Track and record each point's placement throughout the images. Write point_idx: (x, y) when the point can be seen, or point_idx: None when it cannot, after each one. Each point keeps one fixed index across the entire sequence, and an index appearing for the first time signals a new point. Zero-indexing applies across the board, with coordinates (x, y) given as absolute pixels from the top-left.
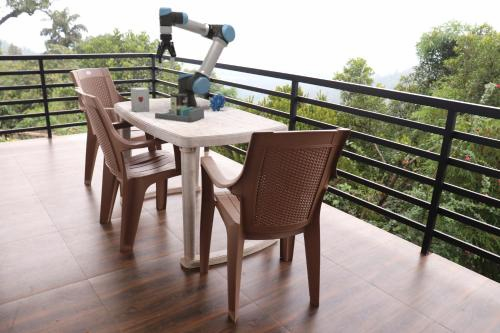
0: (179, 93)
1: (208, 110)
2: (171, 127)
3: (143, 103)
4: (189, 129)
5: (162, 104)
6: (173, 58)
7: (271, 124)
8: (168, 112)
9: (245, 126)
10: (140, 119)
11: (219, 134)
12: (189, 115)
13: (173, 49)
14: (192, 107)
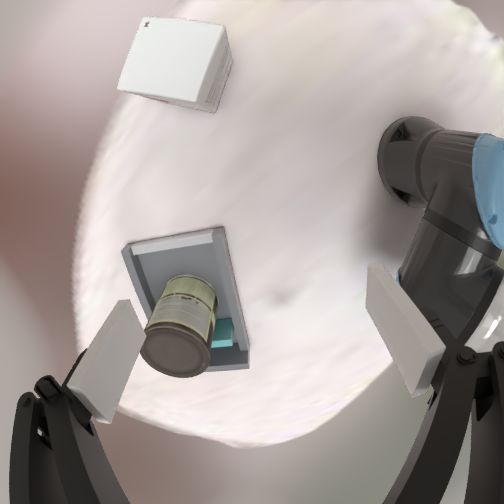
0: (197, 341)
1: None
2: None
3: (177, 104)
4: None
5: (387, 52)
6: (407, 384)
7: (283, 436)
8: (196, 244)
9: (233, 424)
10: (85, 223)
11: (146, 415)
12: None
13: (470, 488)
14: (223, 346)
